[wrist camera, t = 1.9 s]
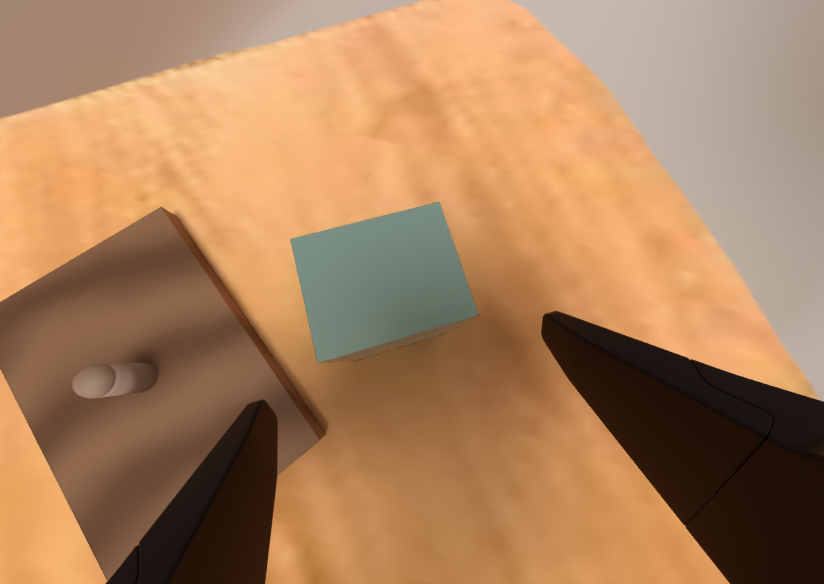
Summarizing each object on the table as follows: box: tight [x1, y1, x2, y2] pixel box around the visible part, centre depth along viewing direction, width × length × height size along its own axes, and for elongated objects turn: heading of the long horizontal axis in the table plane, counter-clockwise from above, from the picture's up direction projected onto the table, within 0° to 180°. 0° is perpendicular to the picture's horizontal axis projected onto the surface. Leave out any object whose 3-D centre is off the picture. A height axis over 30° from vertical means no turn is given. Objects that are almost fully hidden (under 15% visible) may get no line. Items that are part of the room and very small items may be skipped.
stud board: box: [0, 207, 325, 581], centre depth 17 cm, size 20×13×5 cm, turn 39°
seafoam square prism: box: [290, 202, 479, 363], centre depth 17 cm, size 6×7×9 cm
